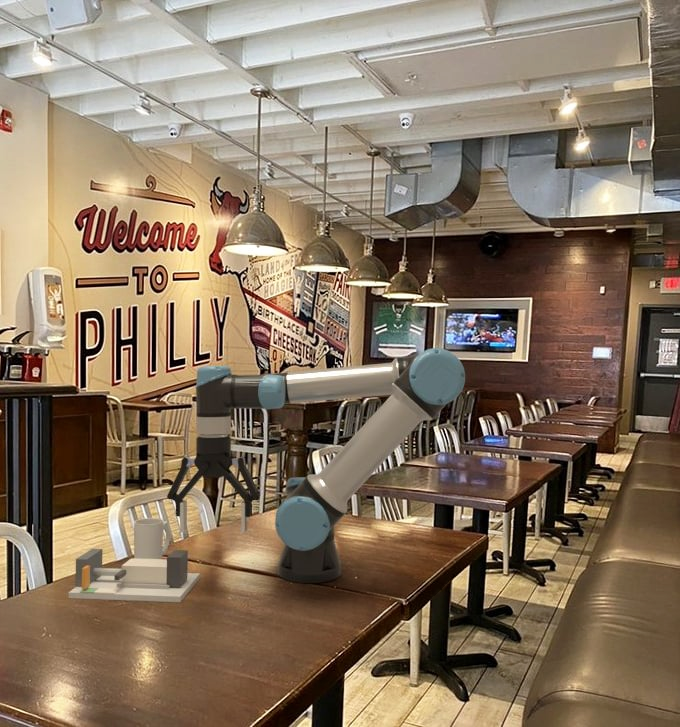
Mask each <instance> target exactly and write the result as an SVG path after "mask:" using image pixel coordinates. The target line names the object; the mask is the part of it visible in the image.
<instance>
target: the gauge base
mask: <svg viewBox="0 0 680 727" xmlns="http://www.w3.org/2000/svg"><path fill="white" fill-rule="evenodd" d="M85 566H90V586H89V587H88V588H87V589H82V568H84V567H85ZM121 570H122V568H108V567H107V568H105V567H103V548H91V549H90V550H87V551H86V552H85V553H83V554H82V555H80V556H78V557H77V558H76V559H75V584H74V585H75V587H74V588H72V589H71V590H70V591H68V599H79V600H80V599H81V600H82V599H84V600H106V601H108V600H110V601H111V600H112V601H115V600H116V601H133V602H136V601H137V602H158V603H159V602H162V603H163V602H164V603H181V602H182V601H183V600H184V598H185V597H186V596H187V595H188V593H189V592H191V590H192V589H193V588H194V586H196V584H197V583H198V582H199V580H200V579H201V573H197V572H195V573H193V572H187V580H186V581H185V582H184V583H183V584H182V585H181V586H180V587H169V586H170V585H158V584H130V583H121V579H120V580H114V576H115V575H116V574H117V573H118V572H119V571H121Z"/></svg>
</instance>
